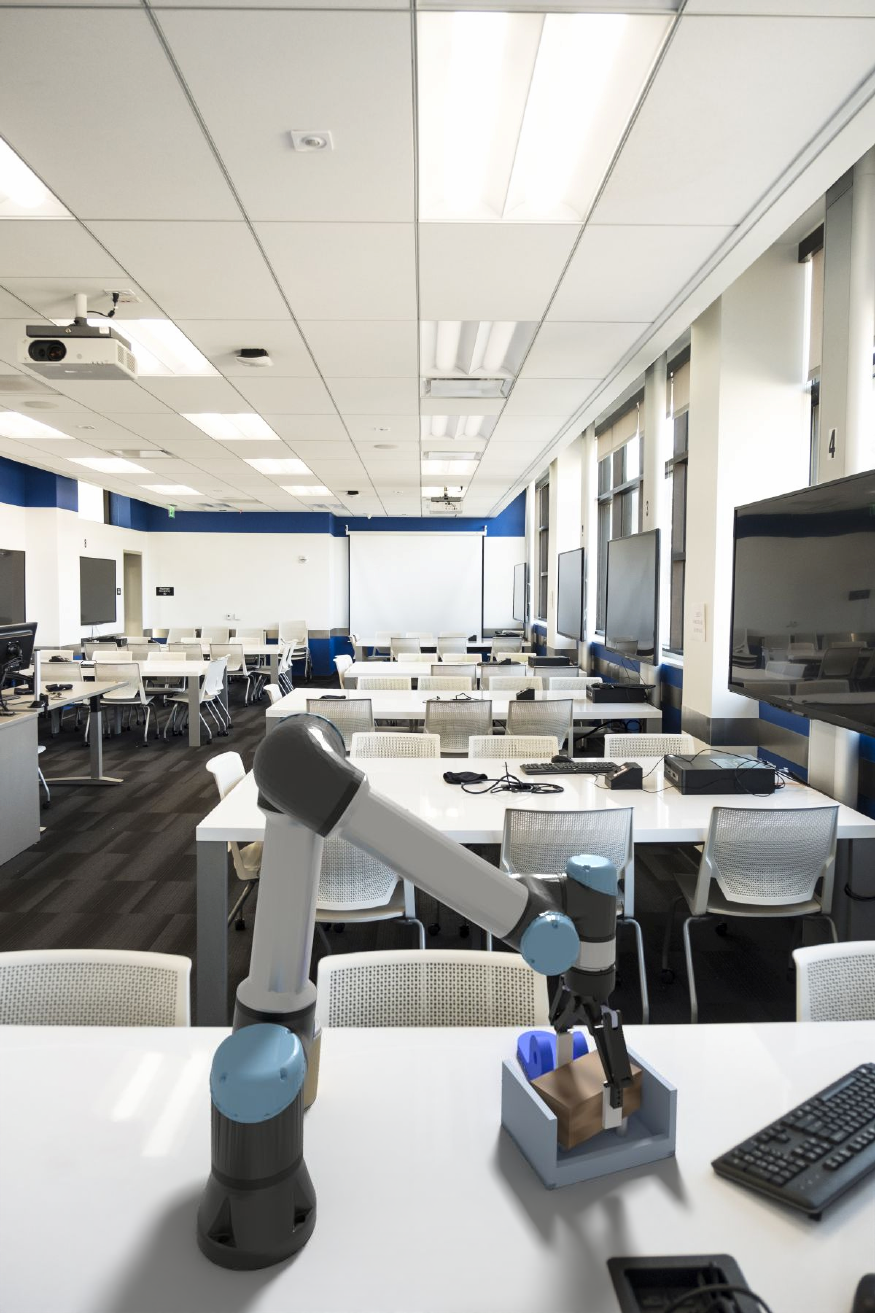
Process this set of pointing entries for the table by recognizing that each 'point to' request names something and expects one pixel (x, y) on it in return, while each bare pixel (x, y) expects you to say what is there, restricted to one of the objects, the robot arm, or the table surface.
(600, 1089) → the brown wooden block
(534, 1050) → the bracket
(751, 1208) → the table surface
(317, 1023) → the coffee cup
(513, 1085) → the frame
